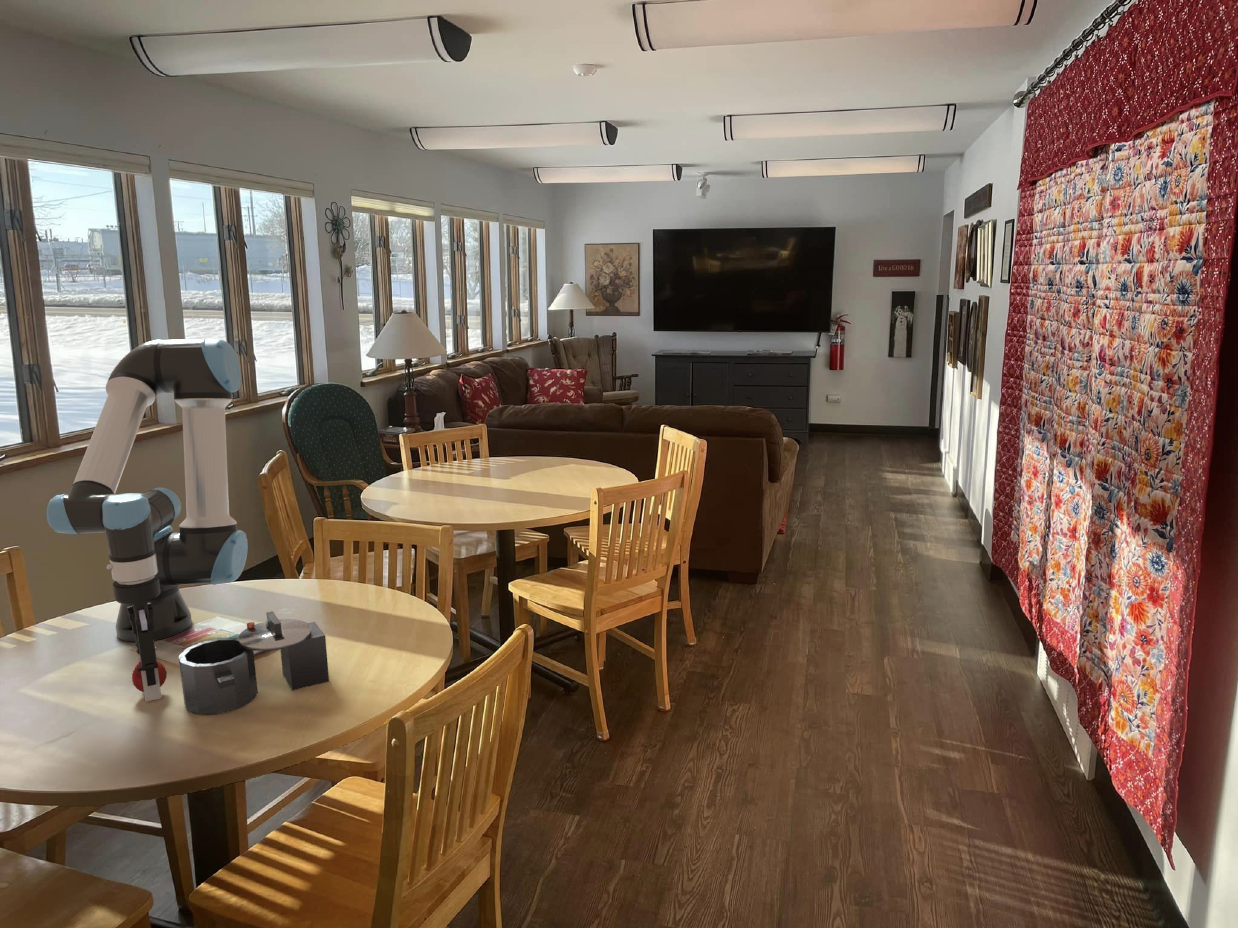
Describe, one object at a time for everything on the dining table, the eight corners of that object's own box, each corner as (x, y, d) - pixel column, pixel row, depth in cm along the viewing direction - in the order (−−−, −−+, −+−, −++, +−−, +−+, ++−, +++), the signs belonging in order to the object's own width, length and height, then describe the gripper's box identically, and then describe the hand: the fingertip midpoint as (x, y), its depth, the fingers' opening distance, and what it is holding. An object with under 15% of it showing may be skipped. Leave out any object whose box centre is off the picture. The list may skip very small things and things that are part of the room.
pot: (178, 685, 174) (172, 639, 172) (246, 670, 180) (241, 625, 178) (193, 731, 157) (187, 680, 155) (267, 712, 163) (262, 663, 161)
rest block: (282, 674, 178) (278, 629, 176) (318, 666, 182) (314, 621, 180) (292, 690, 172) (287, 643, 169) (329, 681, 175) (325, 635, 173)
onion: (154, 702, 167) (149, 662, 165) (127, 699, 168) (121, 660, 166) (175, 687, 173) (170, 649, 171) (149, 685, 174) (143, 647, 172)
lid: (233, 632, 174) (231, 613, 173) (301, 618, 181) (300, 600, 180) (246, 656, 163) (243, 636, 162) (318, 640, 170) (316, 621, 169)
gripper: (109, 567, 171) (125, 678, 176) (116, 597, 155) (133, 718, 161) (152, 559, 175) (167, 668, 180) (164, 589, 159) (179, 707, 165)
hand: (151, 691), depth 170 cm, fingers closed on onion, 6 cm apart
